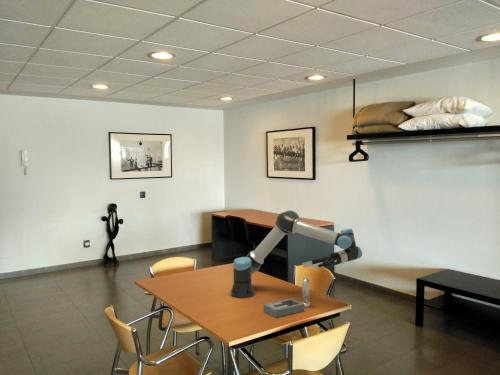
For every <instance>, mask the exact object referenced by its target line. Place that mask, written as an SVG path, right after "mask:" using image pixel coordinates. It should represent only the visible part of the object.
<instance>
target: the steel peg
mask: <svg viewBox="0 0 500 375" xmlns="http://www.w3.org/2000/svg"><path fill="white" fill-rule="evenodd" d="M302 299H304V300H303V301H301V303H303V304H304V308H310V307H311V302H310V301H308V299H310V278H305V277H304V278H302Z"/></svg>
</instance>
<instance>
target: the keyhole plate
mask: <svg viewBox="0 0 500 375" xmlns="http://www.w3.org/2000/svg"><path fill="white" fill-rule="evenodd" d="M262 309H263V310H262V311H263V312H264V313H266V314H267V315H270V316H272V317H273V318H277V319H278V318H280V317H285V316H289V315H293V314H298V313H301V312H305V307H304V304H303V303H302V302H301V301H298V300H296V299H294V298H287V299H282V300H277V301H273V302H268V303H263V308H262Z"/></svg>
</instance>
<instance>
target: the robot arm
mask: <svg viewBox="0 0 500 375" xmlns="http://www.w3.org/2000/svg"><path fill="white" fill-rule="evenodd" d="M274 225H275V226H274V227H273V228H272V229H271V231H269V233H268V234H267V235H266V237H264V238H263V240H262V241H261V242H260V243H259V244H258V246H257V247H256V248H255V249H254V250H251V251H250V252H248V254H247V255H245V256H241V257H237V258H235V259H234V260H233V263H232V264H233V265H232V267H233V272H232V273H233V284H232V286H231V287H232V288H231V290H230V296H232V297H234V298H238V299H239V298H240V299H244V298H245V299H247V298H251V297H253V296H254V295H255V290H254V287H253V284H252V274H254V273H256V272H258V271H259V270H260V268H261V266H262V265H263V264H264V260H265V259H266V257H267V256H268V255H269V254H270V253H271V251H273V249H274V248H275V247H276V246H277V244H278V243H279V242H280V241H281V240H282V239H283V238H284V237H285V235H290V234H295V233H297V234H300V235H302V236H306V237H309V238H313V239H316V240H319V241H322V242H324V243H327V244H331V245H334V246H337V247H339V248H341V250H337V251H335V252H331V253H330V254H329V256H327V257H326V256H324V257H320V258H315V259H310V261H305V262H301V266H302V268H303V269H304V268H308V267H312V269H313V271H314V270H317V269H321V268H324V267H326V268H328V267H330V266H333V265H334V266H337V265H341V264H345V263H348V262H352V261H355V260H359V259H360V258H362V256H363V251H362V248H361V247H360V246H357V244H356V238H355V234H354V231H353V229H352V228H344V229H341V230H340V232H337V231H335V230H334V231H333V230H330V229H327V228H324V227H320V226H318V225H314V224H311V223H308V222H304V221H302V220H301V219H300V216H299V214H298V213H297V212H296V211H294V210H289V209H288V210H286V211H284V212H281V213H279V214H278V216H277V218H276V221H275V223H274Z"/></svg>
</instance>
